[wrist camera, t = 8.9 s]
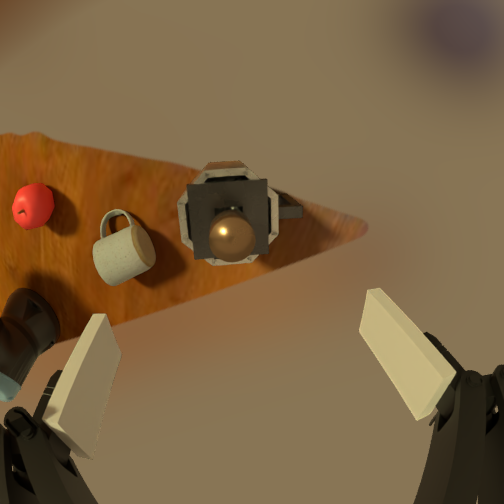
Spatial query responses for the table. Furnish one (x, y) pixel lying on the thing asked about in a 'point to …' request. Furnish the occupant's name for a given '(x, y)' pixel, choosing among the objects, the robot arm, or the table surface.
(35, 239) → the table surface
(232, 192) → the carafe
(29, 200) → the apple
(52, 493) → the robot arm
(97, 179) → the table surface
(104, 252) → the ceramic mug
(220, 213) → the plunger
